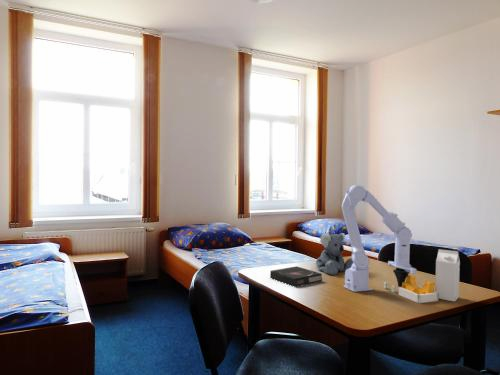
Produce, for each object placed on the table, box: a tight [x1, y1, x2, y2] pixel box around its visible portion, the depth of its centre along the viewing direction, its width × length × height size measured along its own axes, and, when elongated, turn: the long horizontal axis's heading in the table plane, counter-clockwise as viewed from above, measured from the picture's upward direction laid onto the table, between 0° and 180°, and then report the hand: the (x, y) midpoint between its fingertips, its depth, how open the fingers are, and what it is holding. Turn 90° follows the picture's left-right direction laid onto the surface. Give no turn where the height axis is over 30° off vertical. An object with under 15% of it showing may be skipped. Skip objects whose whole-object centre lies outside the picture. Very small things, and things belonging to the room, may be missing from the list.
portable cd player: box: [269, 266, 323, 288], centre depth 174 cm, size 16×17×4 cm
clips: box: [391, 285, 396, 293], centre depth 160 cm, size 9×1×2 cm, turn 110°
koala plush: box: [315, 232, 354, 276], centre depth 193 cm, size 17×18×20 cm
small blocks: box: [383, 281, 388, 289], centre depth 164 cm, size 9×1×2 cm, turn 110°
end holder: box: [398, 285, 439, 304], centre depth 151 cm, size 10×11×3 cm
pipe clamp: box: [401, 274, 435, 295], centre depth 154 cm, size 12×4×6 cm, turn 20°
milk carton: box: [434, 248, 461, 302], centre depth 151 cm, size 7×7×19 cm
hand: (400, 286), depth 160 cm, fingers closed
